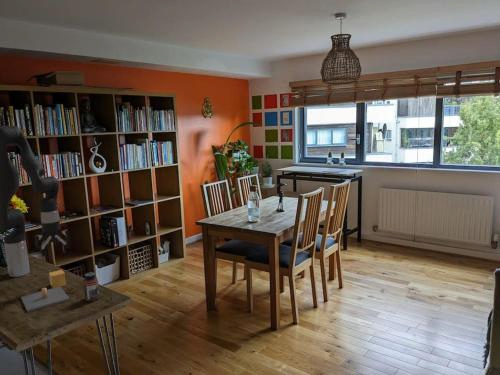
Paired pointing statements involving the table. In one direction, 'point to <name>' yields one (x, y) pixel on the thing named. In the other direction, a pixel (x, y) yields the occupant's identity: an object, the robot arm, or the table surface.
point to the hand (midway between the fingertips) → (54, 254)
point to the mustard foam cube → (57, 278)
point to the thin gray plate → (44, 298)
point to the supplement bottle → (91, 287)
